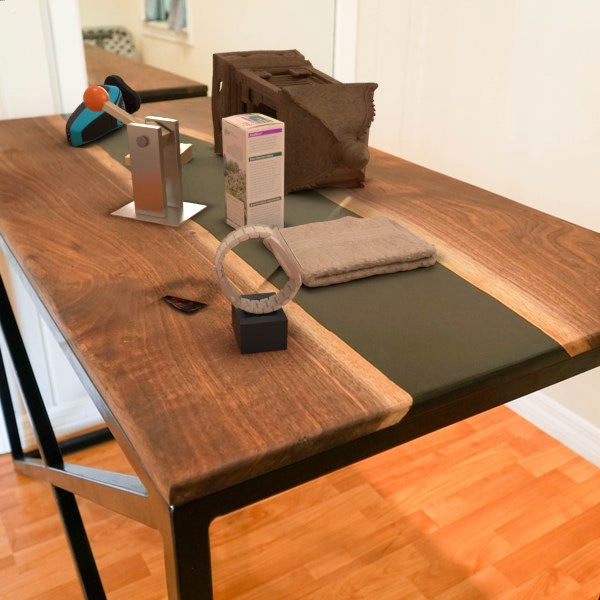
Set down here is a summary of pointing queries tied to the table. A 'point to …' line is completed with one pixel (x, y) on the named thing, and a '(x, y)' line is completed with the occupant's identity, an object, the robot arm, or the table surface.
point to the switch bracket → (156, 176)
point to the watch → (263, 306)
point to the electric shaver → (101, 113)
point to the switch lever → (113, 108)
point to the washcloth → (355, 249)
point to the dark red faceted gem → (183, 303)
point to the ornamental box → (298, 114)
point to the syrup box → (253, 170)
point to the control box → (185, 154)
